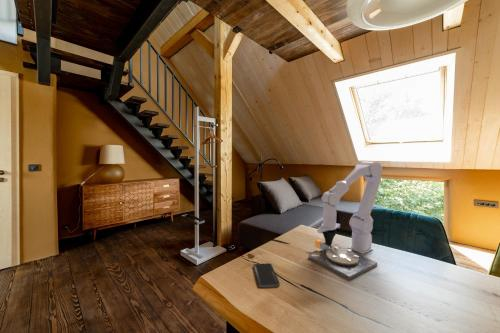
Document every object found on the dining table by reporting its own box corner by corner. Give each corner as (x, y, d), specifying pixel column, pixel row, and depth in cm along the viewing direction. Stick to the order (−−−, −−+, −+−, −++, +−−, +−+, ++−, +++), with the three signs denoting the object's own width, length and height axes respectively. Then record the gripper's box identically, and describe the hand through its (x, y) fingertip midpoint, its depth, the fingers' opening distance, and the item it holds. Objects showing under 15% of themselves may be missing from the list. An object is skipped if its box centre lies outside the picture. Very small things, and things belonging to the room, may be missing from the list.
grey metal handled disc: (324, 243, 109) (325, 236, 109) (364, 260, 92) (365, 252, 92) (307, 249, 102) (307, 242, 102) (346, 268, 85) (347, 260, 85)
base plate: (335, 248, 108) (336, 244, 108) (377, 265, 91) (377, 262, 91) (308, 258, 97) (308, 254, 97) (349, 280, 80) (349, 276, 80)
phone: (258, 286, 75) (252, 264, 90) (258, 289, 75) (252, 266, 90) (280, 284, 76) (271, 263, 91) (280, 287, 76) (271, 265, 91)
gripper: (332, 212, 109) (330, 238, 110) (312, 217, 101) (311, 245, 102) (344, 216, 103) (343, 243, 104) (325, 221, 96) (323, 250, 96)
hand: (328, 244), depth 103 cm, fingers closed
